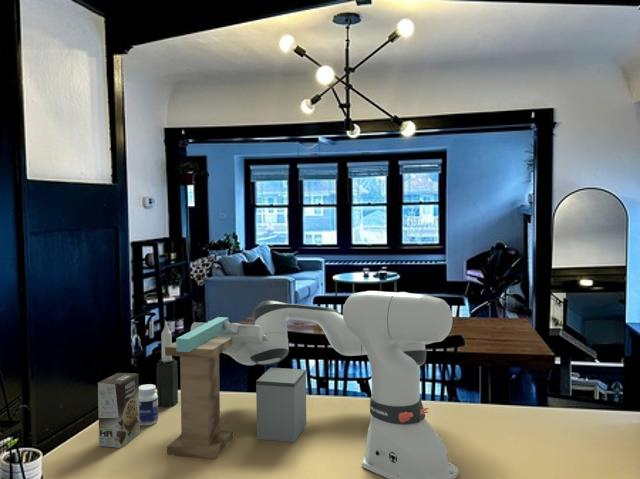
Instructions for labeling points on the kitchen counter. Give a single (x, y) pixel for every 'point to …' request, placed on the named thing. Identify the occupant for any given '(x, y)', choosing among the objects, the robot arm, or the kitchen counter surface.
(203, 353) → the walnut stand
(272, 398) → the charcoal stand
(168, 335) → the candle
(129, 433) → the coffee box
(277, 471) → the kitchen counter surface
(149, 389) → the pill bottle
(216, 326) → the teal bar
